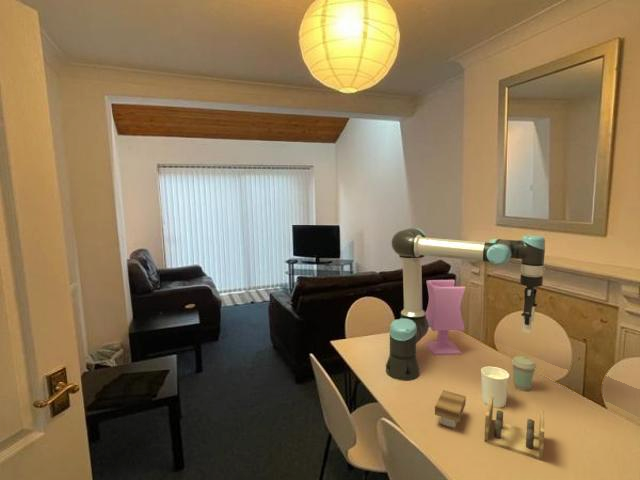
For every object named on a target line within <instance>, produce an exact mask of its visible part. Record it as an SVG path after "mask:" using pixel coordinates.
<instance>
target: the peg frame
mask: <svg viewBox="0 0 640 480" xmlns="http://www.w3.org/2000/svg"><path fill="white" fill-rule="evenodd" d="M486 407H487V409H486V412H485V419H484V420H485V421H484V424H485V425H484V443H487V444H490V445H493V446H497V447H499V448H503V449H506V450H508V451H512V452H515V453H517V454H521V455H524V456H526V457H529V458H533V459H536V460H539V461H542V462H543V459H544V457H543V456H544V445H545V444H544V443H545V410H543V409H540V412H539V413H540V414H539V426H538V427H539V428H538V429H539V430H538V432H535V420H533V419H532V418H528V419H527V421H526V422H527V423H526V428H521V427H518V426H515V425H512V424H509V423H505V422H504V412H503V411H502V410H496V415H495V416H496V419H493V413H494V412H493V411H494V407H493V397H491V396H490V399H489V403H488V405H487V406H486Z"/></svg>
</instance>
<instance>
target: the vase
mask: <svg viewBox="0 0 640 480" xmlns="http://www.w3.org/2000/svg"><path fill="white" fill-rule="evenodd" d="M455 282H456V280H455V279H431V280H430V279H428V280H426V286H427V293H428V304H427V307H426V310H425V313H426V318H427V320H428V322H429V328H430V329H431V330H432V331H433V332H438V334H437V335H438V336H437V337H438V338H437V339H438V340H428V341H427V340H426V341H425V344H426V346H427V347H428V349H429V350H430V352H431V353H432V354H433V355H434V356H435V355H437V356H440V355H442V356H443V355H444V356H445V355H446V356H447V355H461V354H462V351H461V350H460V349H459V348H458V347H457V345H455V344H454V342H453V341H452V340H449V331H460V332H461V331H462V332H463V331H464V332H465V324H464V321H463V316H462V311H461V310H462V309H461V305H462V299H463V296H464V293H465V291H466V286H455Z"/></svg>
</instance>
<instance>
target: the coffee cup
mask: <svg viewBox="0 0 640 480" xmlns="http://www.w3.org/2000/svg"><path fill="white" fill-rule="evenodd" d="M511 364H512V372H513V382H514V383H513V384H514V387H515V389H517V390H519V391H522V392H529V391H530V390H531V389H532V384H533V378H534V375H535V369H536V367H537V364H536V362H535V360H534V359H532V358H530V357H527V356H524V355H516V356H514V357H513V359H512V360H511Z"/></svg>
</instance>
